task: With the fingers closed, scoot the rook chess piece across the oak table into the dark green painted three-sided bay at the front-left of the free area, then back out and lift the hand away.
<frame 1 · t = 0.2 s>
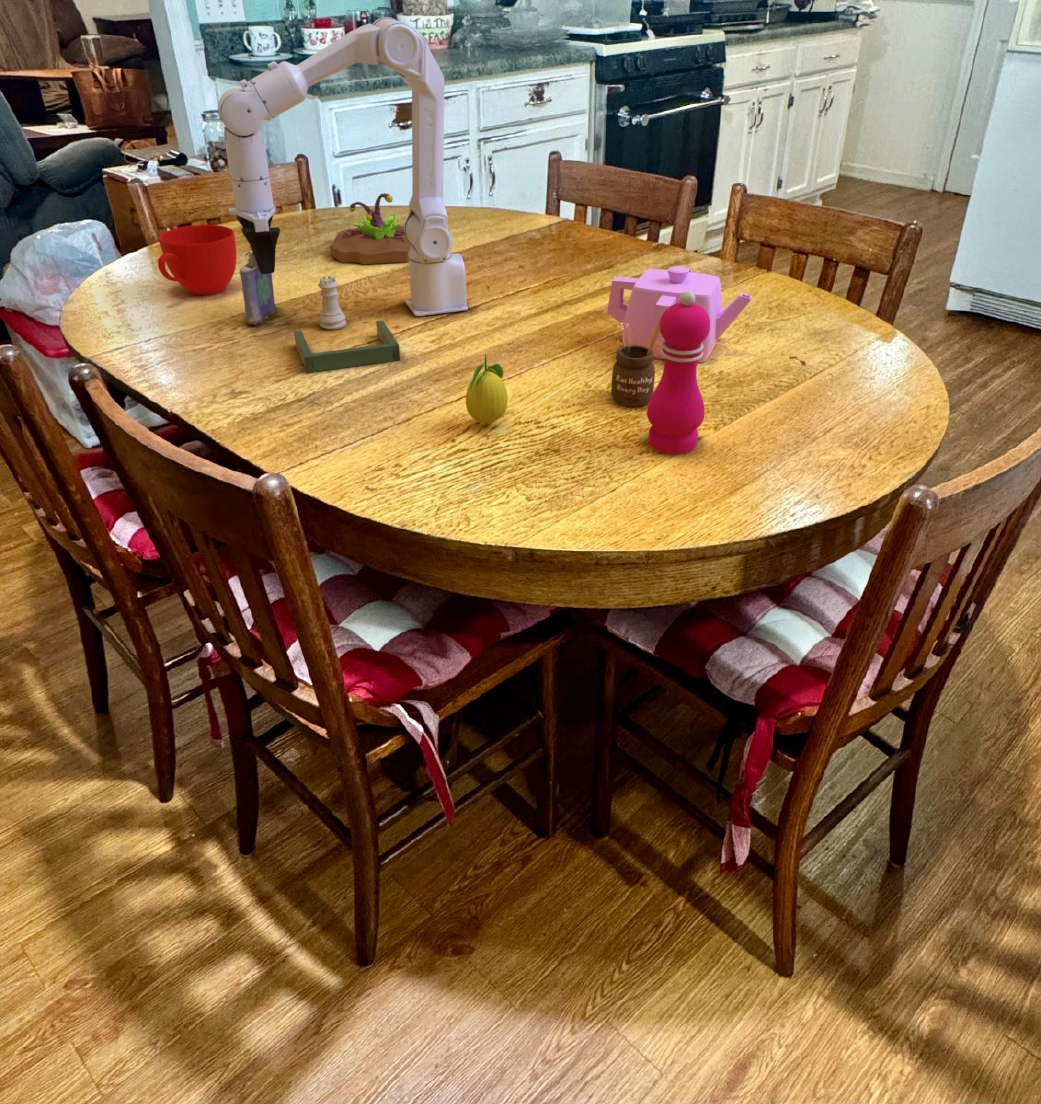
hand: (264, 266, 145), 10 cm above the table, tool pointing down, fingers open, 7 cm apart
pepper mill: (672, 444, 116), on the table
teakettle: (674, 345, 144), on the table
utensil holder: (632, 399, 127), on the table
bay: (346, 351, 142), on the table
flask: (261, 317, 154), on the table, touching gripper
plant: (381, 251, 187), on the table
lemon: (487, 426, 121), on the table
ceramic cup: (201, 293, 165), on the table
rook chess piece: (333, 326, 151), on the table
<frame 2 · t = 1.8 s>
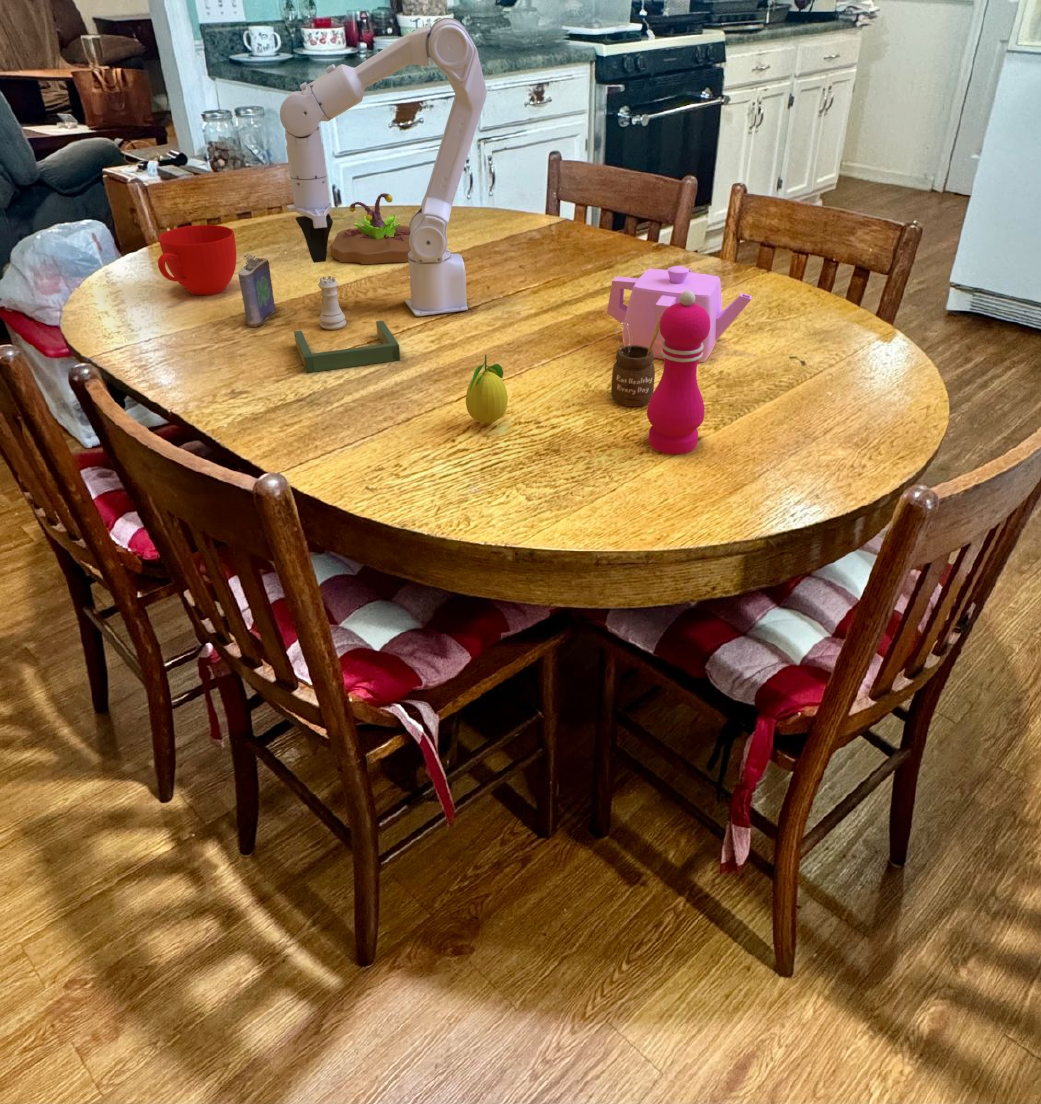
hand: (319, 261, 152), 9 cm above the table, tool pointing down, fingers closed
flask: (261, 318, 154), on the table
everything else where it was.
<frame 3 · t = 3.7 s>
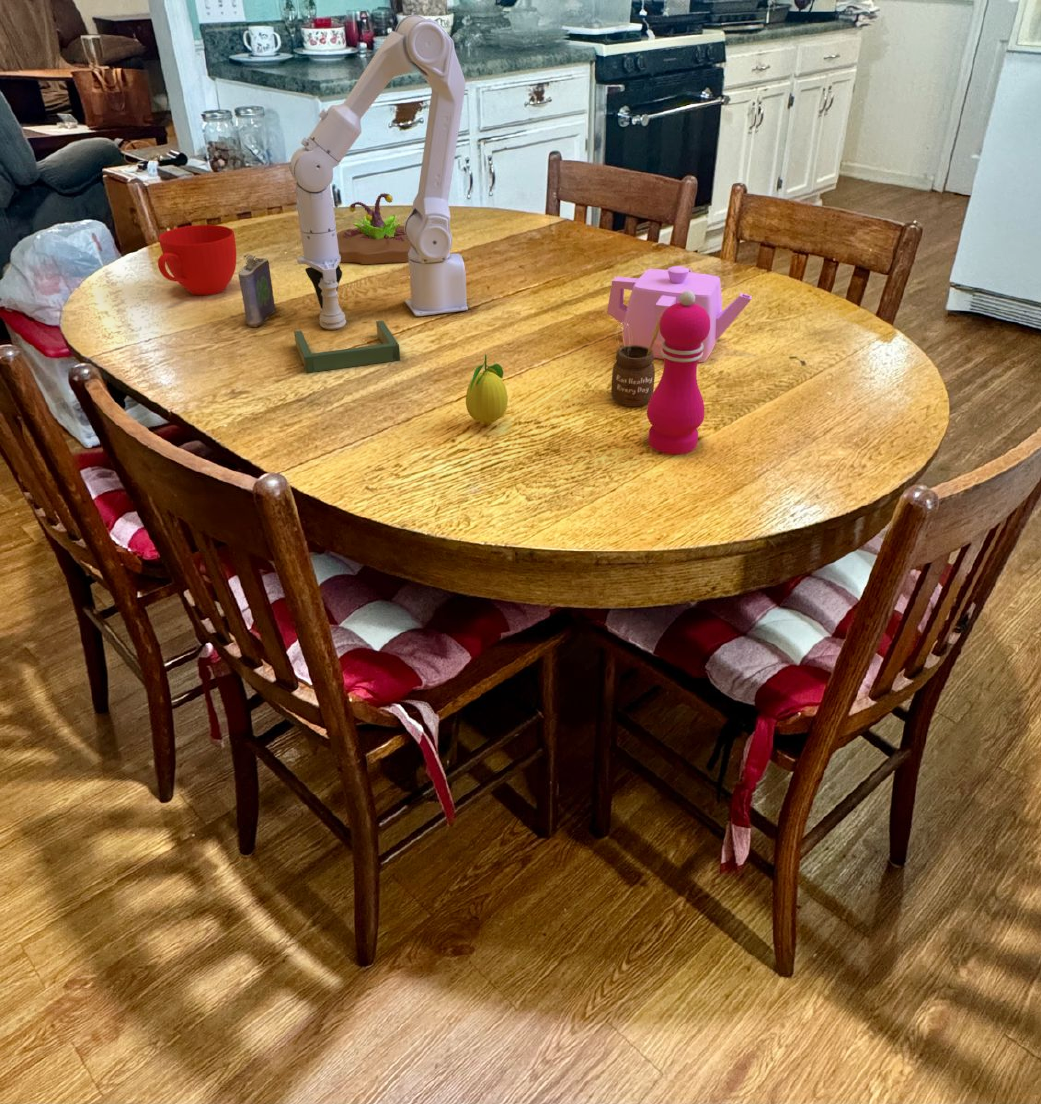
hand: (328, 310, 153), 1 cm above the table, tool pointing down, fingers closed
rook chess piece: (333, 325, 151), on the table, touching gripper
everything else where it was.
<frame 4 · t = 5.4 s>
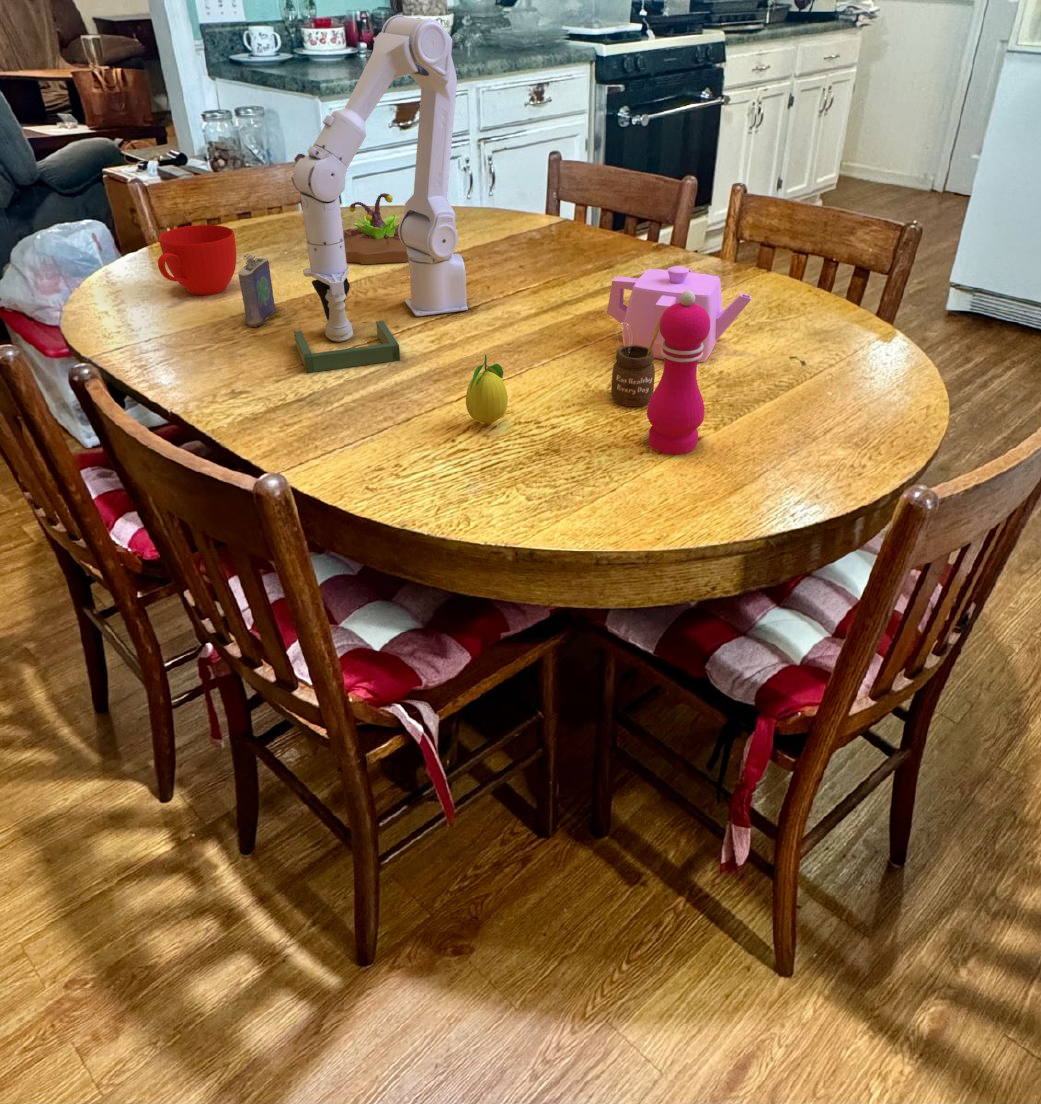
hand: (335, 324, 148), 1 cm above the table, tool pointing down, fingers closed
rook chess piece: (339, 336, 146), on the table, touching gripper
everything else where it was.
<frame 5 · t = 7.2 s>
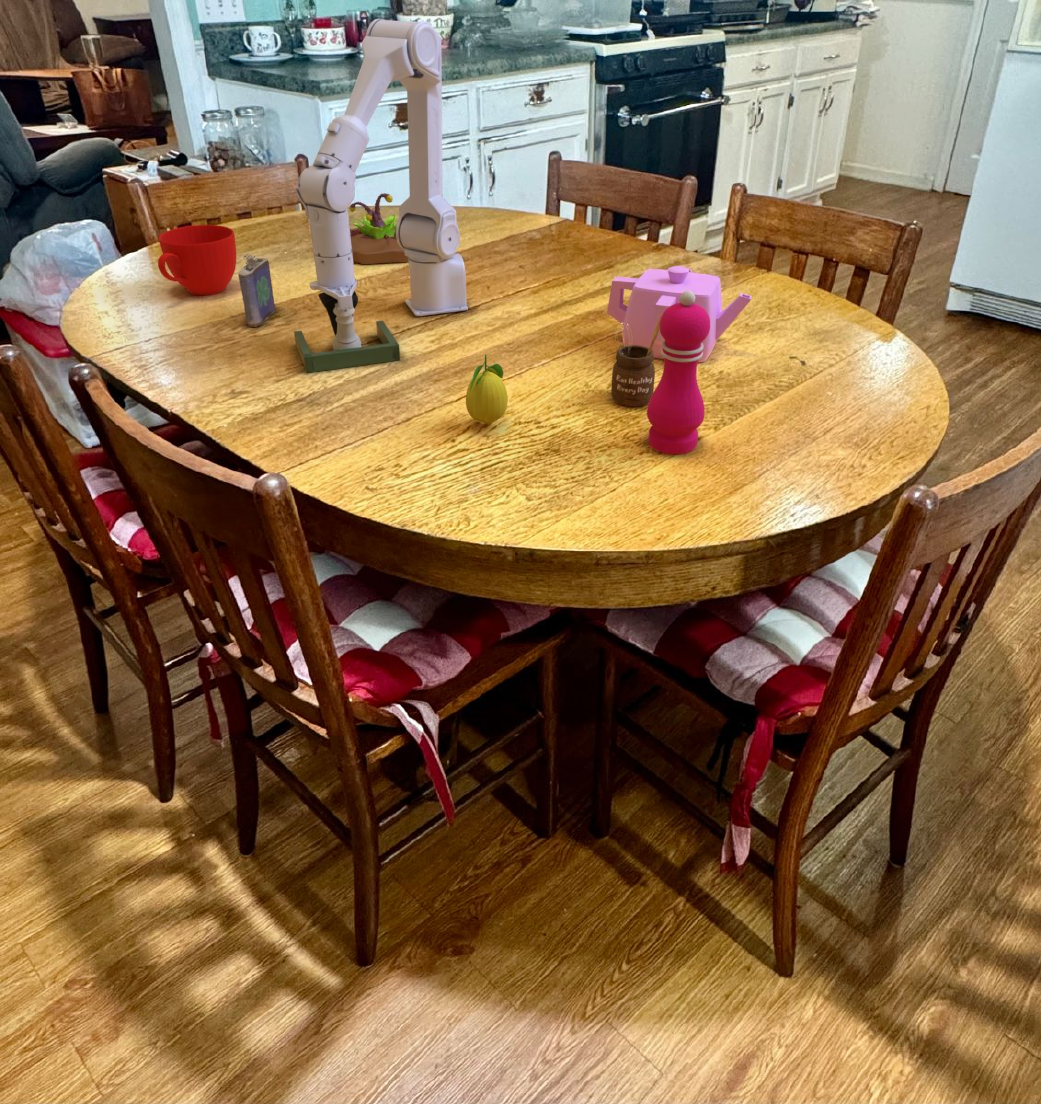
hand: (343, 338, 143), 1 cm above the table, tool pointing down, fingers closed
rook chess piece: (347, 351, 141), on the table, touching gripper
everything else where it was.
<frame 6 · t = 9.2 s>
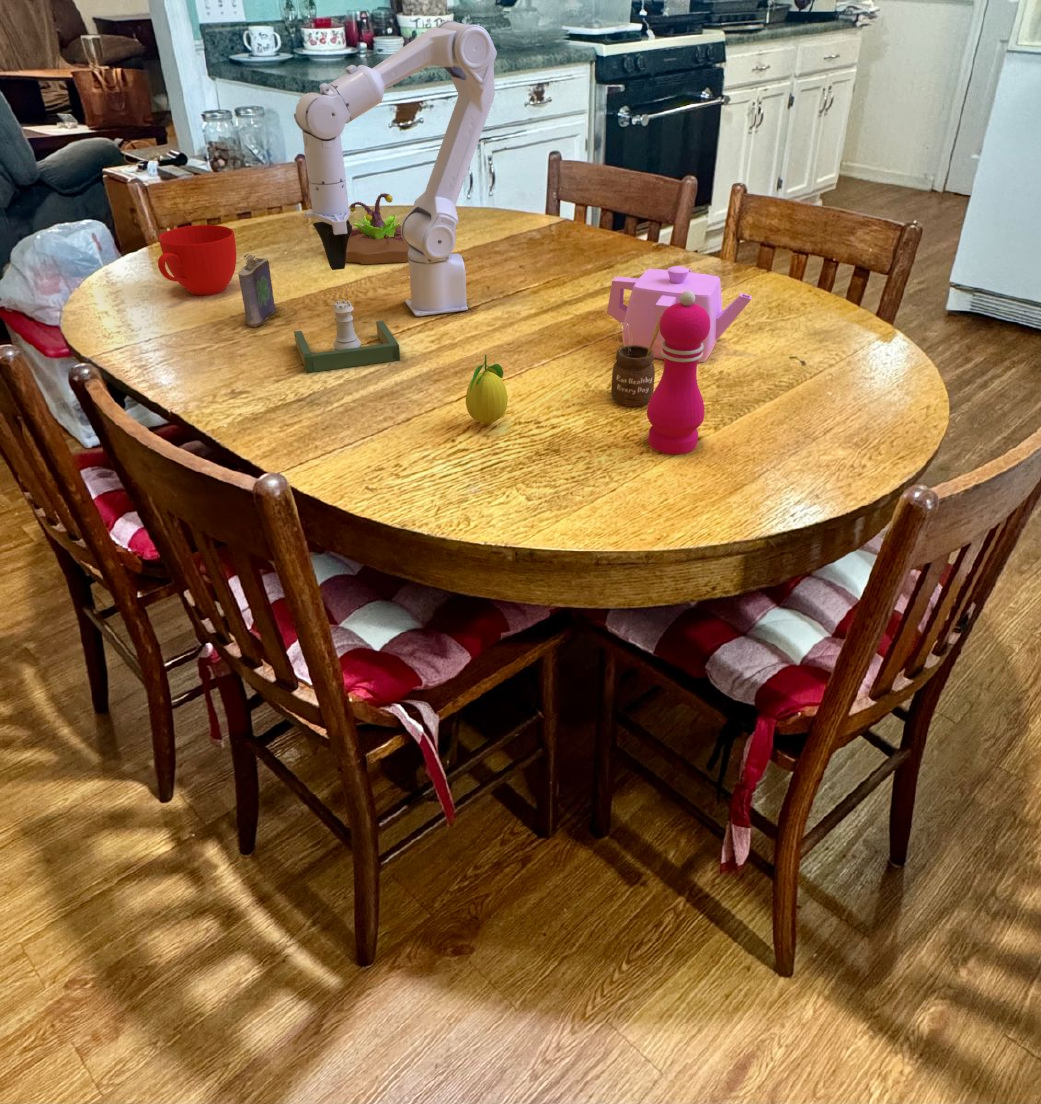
hand: (337, 268, 147), 9 cm above the table, tool pointing down, fingers closed
rook chess piece: (348, 353, 142), on the table
everything else where it was.
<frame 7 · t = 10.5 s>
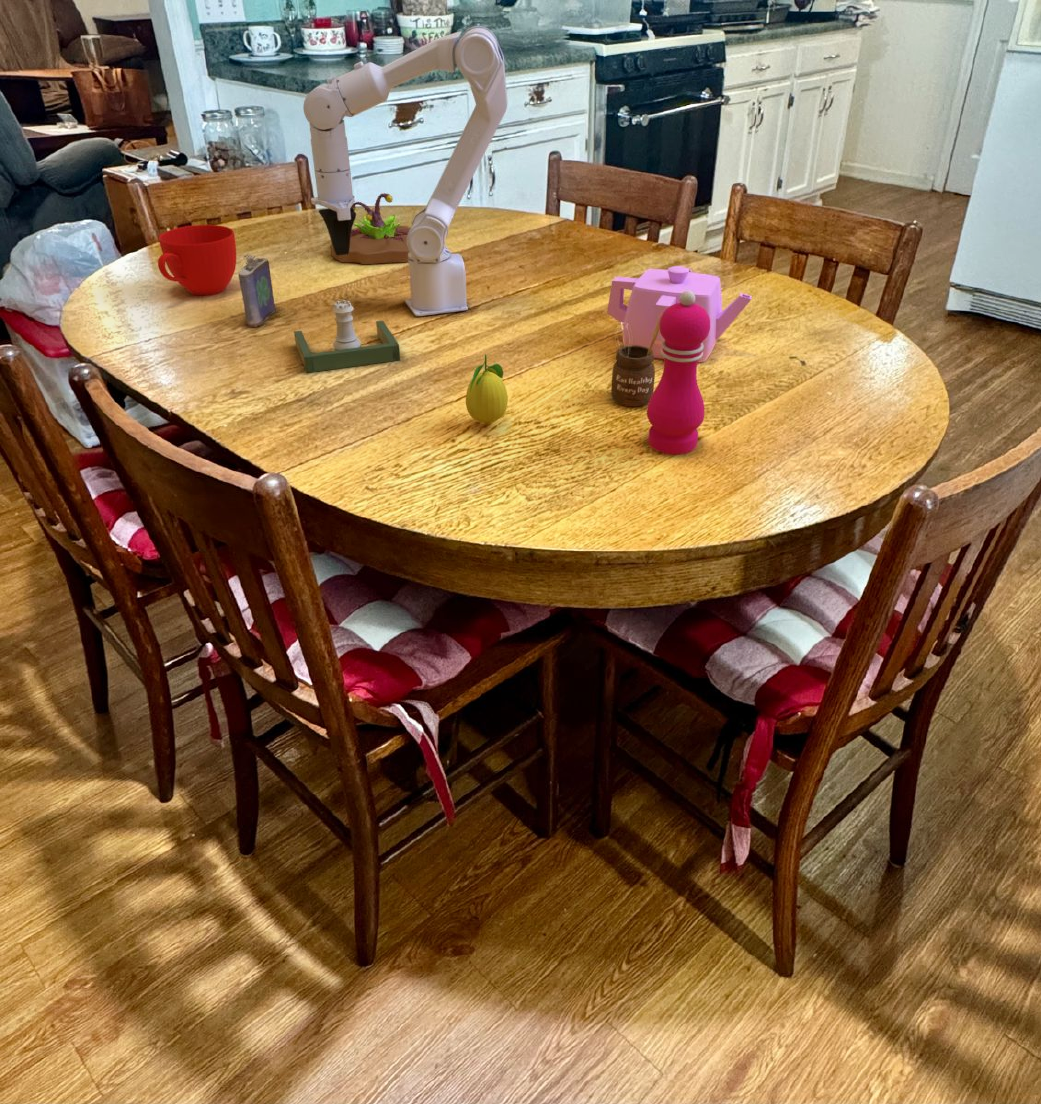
hand: (341, 253, 153), 9 cm above the table, tool pointing down, fingers closed
nothing on the table moved.
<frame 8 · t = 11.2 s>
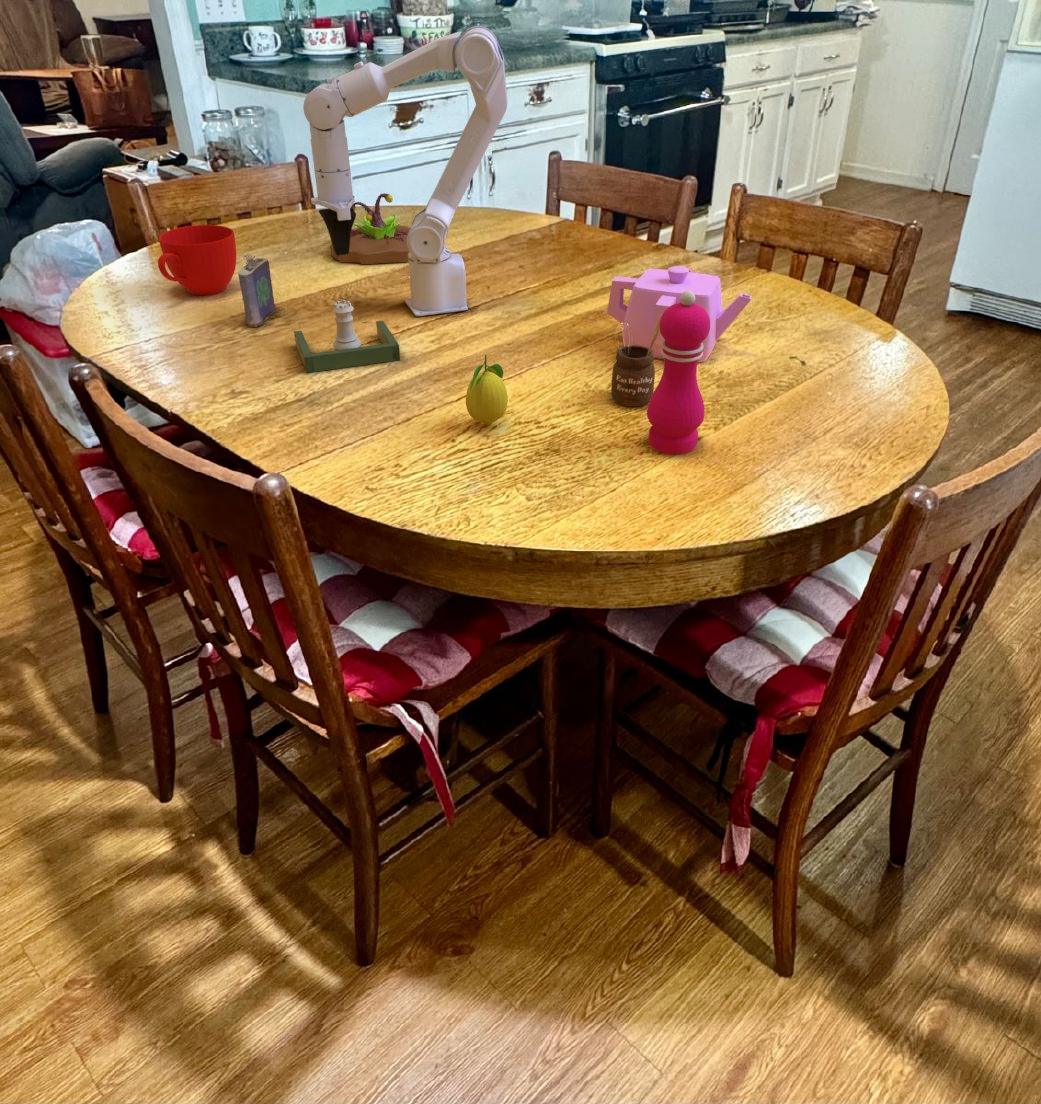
hand: (341, 253, 153), 9 cm above the table, tool pointing down, fingers closed
nothing on the table moved.
at the end: rook chess piece inside the target area on the bay (0.8 cm from its centre), point 0.0 cm above the bay's base; rook chess piece tilted 0° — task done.
